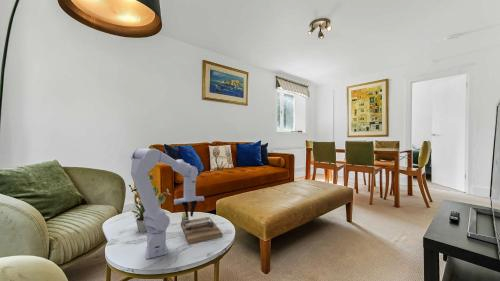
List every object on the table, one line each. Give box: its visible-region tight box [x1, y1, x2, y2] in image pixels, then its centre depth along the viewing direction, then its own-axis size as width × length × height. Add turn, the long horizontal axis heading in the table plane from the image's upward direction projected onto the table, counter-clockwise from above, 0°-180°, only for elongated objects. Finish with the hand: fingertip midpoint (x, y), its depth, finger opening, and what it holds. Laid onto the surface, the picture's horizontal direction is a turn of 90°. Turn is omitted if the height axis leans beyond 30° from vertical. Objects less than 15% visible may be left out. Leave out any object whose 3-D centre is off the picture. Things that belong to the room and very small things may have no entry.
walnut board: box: [180, 216, 223, 245], centre depth 104 cm, size 22×16×5 cm
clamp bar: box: [186, 218, 213, 228], centre depth 104 cm, size 4×13×2 cm, turn 118°
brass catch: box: [181, 211, 190, 220], centre depth 108 cm, size 5×2×2 cm, turn 28°
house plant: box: [130, 200, 147, 233], centre depth 102 cm, size 14×14×16 cm
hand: (189, 216), depth 101 cm, fingers closed
